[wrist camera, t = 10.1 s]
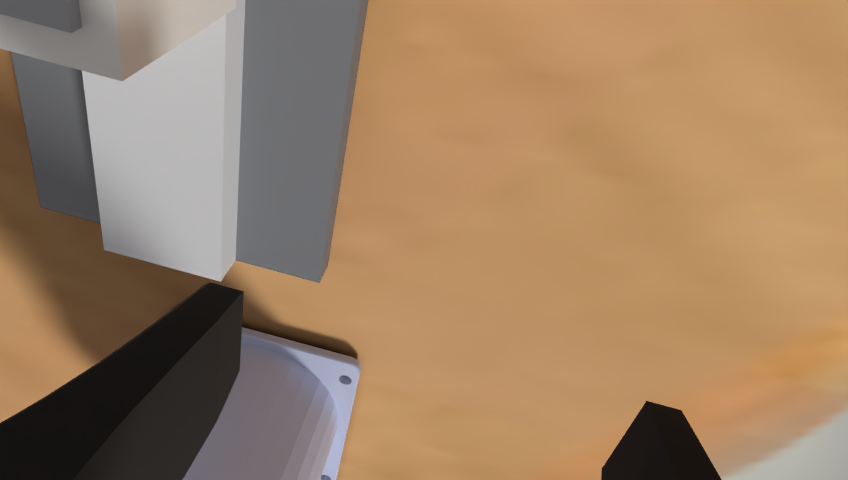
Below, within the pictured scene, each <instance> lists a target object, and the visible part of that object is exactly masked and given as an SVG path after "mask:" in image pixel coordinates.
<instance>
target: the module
mask: <svg viewBox="0 0 848 480" xmlns="http://www.w3.org/2000/svg"><path fill="white" fill-rule="evenodd" d="M235 8H236V0H0V49H4V50H7V51H11V52H15V53H18V54H22V55H26V56H30V57H33V58H37V59H41V60H44V61H48V62H52V63H56V64H59V65H63V66H67V67H70V68H74V69H78V70H81V71H85V72H89V73H93V74H96V75H100V76H104V77H107V78H111V79H115V80H119V81H124V80H125V79H127V78H128V77H130V76H131V75H133V74H135V73H136V72H138V71H139V70H141V69H142V68H144V67H145V66H147V65H149V64H150V63H152V62H153V61H155V60H156V59H158V58H159V57H161V56H163V55H164V54H166V53H167V52H169V51H170V50H172V49H173V48H175V47H176V46H178V45H180V44H181V43H183V42H184V41H186V40H187V39H189V38H190V37H192V36H194V35H195V34H197V33H198V32H200V31H201V30H203V29H204V28H206V27H208V26H209V25H211V24H212V23H214V22H215V21H217V20H218V19H220V18H221V17H223V16H225V15H226V14H228V13H229V12H231V11H232V10H234V9H235Z"/></svg>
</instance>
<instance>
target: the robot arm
mask: <svg viewBox="0 0 848 480" xmlns="http://www.w3.org/2000/svg"><path fill="white" fill-rule="evenodd" d="M243 293H244V292H243V291H239V290H236V289H232V288H228V287H225V286H221V285H217V284H213V283H208V284H206V285H204V286H203V287H201V288H200V289H199V290H197V291H196V292H195V293H193V294H192V295H191V296H190V297H188V298H187V299H186V300H184V301H183V302H182V303H181V304H179V305H178V306H177V307H175V308H174V309H173V310H170V311H169V312H168V313H167V314H166V315H165V316H163V317H162V318H161V319H159V320H158V321H157V322H155V323H154V324H153V325H151V326H150V327H148V328H147V329H146V330H144V331H143V332H142V333H140V334H139V335H137V336H136V337H135V338H133V339H132V340H130V341H129V342H127V343H126V344H125V345H123V346H122V347H120V348H119V349H117V350H116V351H115V352H113V353H112V354H110V355H109V356H108V357H106V358H105V359H103V360H102V361H100V362H99V363H97V364H96V365H94V366H93V367H91V368H90V369H88V370H87V371H85V372H83V373H82V374H80V375H79V376H77V377H76V378H74V379H72V380H71V381H69V382H68V383H66V384H65V385H63V386H61V387H60V388H58V389H57V390H55V391H54V392H52V393H50V394H49V395H47V396H46V397H44V398H42V399H41V400H39V401H37V402H36V403H34V404H32V405H31V406H29V407H27V408H26V409H24V410H22V411H21V412H19V413H17V414H15V415H14V416H12V417H10V418H8V419H7V420H5V421H3V422H1V423H0V480H337V475H338V471H339V466H340V462H341V457H342V453H343V448H344V444H345V439H346V435H347V430H348V426H349V421H350V417H351V412H352V408H353V403H354V399H355V395H356V390H357V386H358V381H359V377H360V372H361V364H360V362H359V361H358V360H356V359H355V358H353V357H350V356H347V355H343V354H339V353H336V352H332V351H328V350H325V349H321V348H317V347H314V346H310V345H306V344H303V343H299V342H295V341H292V340H288V339H284V338H281V337H277V336H273V335H269V334H266V333H262V332H258V331H255V330H251V329H247V328H244V327H242V314H243ZM344 375H345V376H344ZM346 376H348V377H346ZM601 480H721V478H720V476H719V475H718V473H717V471H716V469H715V468H714V466H713V464H712V463H711V461H710V459H709V457H708V456H707V454H706V452H705V450H704V449H703V447H702V445H701V443H700V442H699V440H698V438H697V436H696V435H695V433H694V431H693V429H692V428H691V426H690V424H689V423H688V421H687V419H686V418H685V416H684V414H683V413H682V411H681V410H678V409H674V408H671V407H667V406H663V405H660V404H656V403H652V402H649V401H646V403H645V404H644V406H643V407H642V409H641V410H640V412H639V413H638V415H637V416H636V418H635V419H634V421H633V423H632V424H631V426H630V427H629V429H628V430H627V432H626V433H625V435H624V436H623V438H622V439H621V441H620V442H619V444H618V445H617V447H616V448H615V450H614V451H613V453H612V454H611V456H610V457H609V459H608V460H607V462H606V463H605V465H604V466H603V468H602V479H601Z"/></svg>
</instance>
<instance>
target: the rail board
mask: <svg viewBox="0 0 848 480" xmlns="http://www.w3.org/2000/svg"><path fill="white" fill-rule="evenodd" d="M367 5H368V0H236V8H235V9H234V10H232V11H231V12H229V13H228V14H226V15H225V16H223V17H221V18H220V19H218V20H217V21H215V22H214V23H212V24H211V25H209V26H208V27H206V28H204V29H203V30H201V31H200V32H198V33H197V34H195V35H194V36H192V37H190V38H189V39H187V40H186V41H184V42H183V43H181V44H180V45H178V46H176V47H175V48H173V49H172V50H170V51H169V52H167V53H166V54H164V55H163V56H161V57H159V58H158V59H156V60H155V61H153V62H152V63H150V64H149V65H147V66H145V67H144V68H142V69H141V70H139V71H138V72H136V73H135V74H133V75H131V76H130V77H128V78H127V79H125V80H124V81H119V80H115V79H111V78H107V77H104V76H100V75H96V74H93V73H89V72H85V71H81V70H78V69H74V68H70V67H67V66H63V65H59V64H56V63H52V62H48V61H44V60H41V59H37V58H33V57H30V56H26V55H22V54H18V53H15V52H11V55H12V60H13V65H14V70H15V75H16V81H17V86H18V91H19V96H20V102H21V107H22V112H23V117H24V122H25V128H26V133H27V138H28V143H29V149H30V154H31V159H32V164H33V169H34V175H35V180H36V185H37V190H38V196H39V201H40V206H41V207H42V208H45V209H49V210H53V211H56V212H60V213H64V214H67V215H71V216H75V217H78V218H82V219H86V220H90V221H93V222H97V223H101V229H102V237H103V245H104V250H106V251H110V252H113V253H117V254H121V255H124V256H128V257H132V258H136V259H139V260H143V261H147V262H150V263H154V264H158V265H161V266H165V267H169V268H172V269H176V270H180V271H183V272H187V273H191V274H194V275H198V276H202V277H205V278H209V279H213V280H216V281H220V282H221V281H222V279H223V278H224V276H225V275H226V273H227V272H228V270H229V269H230V268H231V266H232V265H233V263H234V262H235V260H237V261H241V262H244V263H248V264H252V265H255V266H259V267H263V268H266V269H270V270H274V271H277V272H281V273H285V274H288V275H292V276H296V277H299V278H303V279H307V280H311V281H314V282H318V283H320V281H321V278H322V276H323V274H324V272H325V270H326V268H327V266H328V260H329V253H330V247H331V240H332V234H333V227H334V221H335V214H336V208H337V201H338V194H339V188H340V181H341V175H342V168H343V162H344V155H345V149H346V142H347V136H348V129H349V122H350V116H351V109H352V103H353V96H354V90H355V83H356V77H357V70H358V63H359V57H360V50H361V44H362V37H363V31H364V24H365V18H366V11H367Z"/></svg>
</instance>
